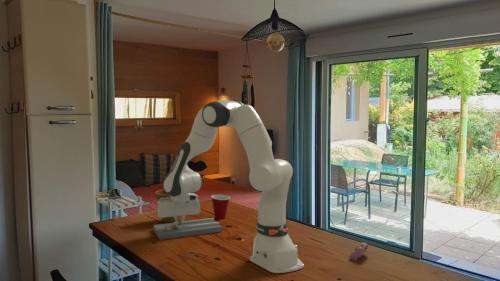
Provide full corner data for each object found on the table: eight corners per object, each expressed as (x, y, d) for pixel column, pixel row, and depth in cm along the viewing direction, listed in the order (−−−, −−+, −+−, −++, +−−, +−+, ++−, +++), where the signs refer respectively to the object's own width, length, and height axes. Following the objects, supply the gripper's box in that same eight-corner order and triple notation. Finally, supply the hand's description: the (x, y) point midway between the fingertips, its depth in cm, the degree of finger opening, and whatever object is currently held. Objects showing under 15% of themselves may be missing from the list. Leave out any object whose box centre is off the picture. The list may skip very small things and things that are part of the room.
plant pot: (171, 215, 212) (170, 187, 211) (190, 219, 203) (189, 190, 202) (150, 221, 200) (149, 192, 199) (169, 226, 191) (168, 195, 190)
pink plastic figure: (357, 265, 147) (366, 251, 145) (347, 258, 149) (356, 243, 146) (364, 256, 155) (372, 243, 153) (354, 250, 157) (362, 236, 155)
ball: (172, 224, 179) (165, 229, 178) (177, 230, 180) (170, 235, 179) (170, 222, 182) (163, 227, 181) (175, 228, 184) (168, 233, 182)
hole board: (221, 231, 183) (221, 224, 183) (159, 239, 171) (159, 232, 170) (211, 223, 197) (211, 216, 197) (153, 230, 185) (153, 222, 185)
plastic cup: (229, 220, 202) (229, 198, 202) (209, 220, 203) (209, 198, 202) (231, 215, 213) (231, 194, 212) (212, 214, 213) (212, 194, 213)
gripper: (158, 199, 174) (159, 228, 175) (201, 196, 182) (201, 223, 183) (156, 197, 180) (156, 225, 181) (197, 193, 188) (197, 220, 189)
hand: (179, 224), depth 182 cm, fingers closed
